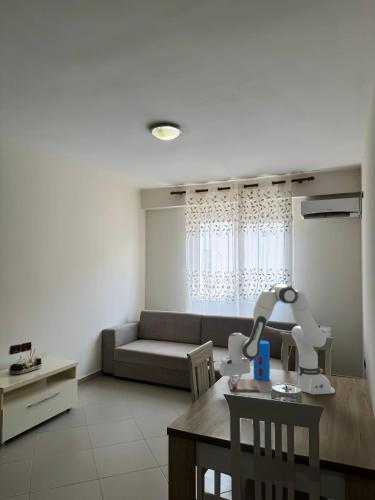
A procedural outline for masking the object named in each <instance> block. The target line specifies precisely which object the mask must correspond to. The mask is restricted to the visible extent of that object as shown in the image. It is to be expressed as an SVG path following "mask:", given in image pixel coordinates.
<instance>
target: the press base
mask: <svg viewBox="0 0 375 500" xmlns="http://www.w3.org/2000/svg"><path fill="white" fill-rule="evenodd" d="M227 384H228V388H229V390H230V392H234V393H237V392H238V393H241V392H242V393H243V392H244V393H260V392H261V390H260V387H259V386H258V383H257V380H255V379H251V378H250V379H249V378H247V379H246V378H243V379H241V378H240V381H239V382H238V386H237V387H233V384H232V382H231V381H230V378H227Z"/></svg>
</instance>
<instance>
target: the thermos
mask: <svg viewBox="0 0 375 500" xmlns="http://www.w3.org/2000/svg"><path fill="white" fill-rule="evenodd" d="M259 347H260V353H259V356H258V357H257V358H255V359H253V378H254V379H255V381H257V382H268V381H270V373H271V372H270V370H271V369H270V364H271V363H270V360H271V359H270V354H271V353H270V352H271V351H270V342H269V341H267V340H261V341H260V345H259ZM267 380H268V381H267Z"/></svg>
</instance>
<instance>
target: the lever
mask: <svg viewBox="0 0 375 500" xmlns="http://www.w3.org/2000/svg"><path fill="white" fill-rule="evenodd" d="M238 376H239V375H232V379H234V382H232V384H233V387H237V386H238Z"/></svg>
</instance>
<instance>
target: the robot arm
mask: <svg viewBox="0 0 375 500" xmlns="http://www.w3.org/2000/svg"><path fill="white" fill-rule="evenodd" d="M279 302H280V303H283V304H289V305H290V310H291V313H292V316H293V317H292V318H293V319H294V322H295V323H296V324H297V325H295V326H294V327H293V328H292V329H291V337H292V338H293V340H294V342H295V345H296V347H297V351H298V358H299V359H298V360H299V361H298V368H297V369H298V380H297V386H298V387H300V388H301V389H302V391H301V392H304V393H308V394H310V395H326V394H327V395H328V394H335V393H336V391H335V389H334V387H332V386H331V385H332V384H331V383H330V380H329V379H328V378H327V376H325V375H323V374H322V373H324V369H323V368H320V367H319V366H318V365H319V364H318V361H319V360H318V359H319V357H318V353H317V352H316V351H315V347H316V348H321V347H323V346H324V345H326V342H327V335H326V333H325V332H324V331H323V330H322V329H321V328H320V327H319V326H318V325H317V323H316V321H315V320H314V317H313V315H312V312H311V311H312V310H311V308H310V305H309V302H308V299H307V297H306V295H305V293H304V291H302V290H300V289H299V290H298V289H297V290H296V289H294V288H293V287H292V286H289V285H287V284H285V283H284V284H283V283H275V284H273V285H272V286H271V287H270V288H269V289H264V290H263V291H262V292H261V293H260V295H259V297H258V299H257V301H256V302H255V305H254V309H253V313H252V314H253V328H252V330H251V331H252V332H251V334H250V336H246V335H244V334H242V333H241V332H233V333H231V334H230V335H228V341H227V342H228V346H227V348H228V354H227V355H226V356H225V357H222V358H221V359H220V362H221V363H220V365H219V375H221V376H222V377H228V378H229V379H230V381H231V382H234V379H232V375H236V376H238V382H239V381H240V379H241V378H242V376H243V375H244V374H245V375H246V374H250V373H251V360H254V359H255V358H257V357H258V356H259V353H260V347H259V345H260V341H262V337H263V333H264V331H265V329H266V327H267V324H268V322H269V320H270V318H271V316H272V313H273V311H274V308H275V306H276V305H277V303H279ZM243 356H244V357H245V358H243ZM297 386H296V387H297Z"/></svg>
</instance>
